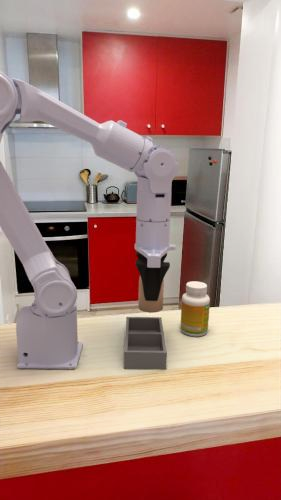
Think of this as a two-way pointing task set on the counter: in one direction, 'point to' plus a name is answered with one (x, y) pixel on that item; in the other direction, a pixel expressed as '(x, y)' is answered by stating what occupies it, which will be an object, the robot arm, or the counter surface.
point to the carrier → (144, 343)
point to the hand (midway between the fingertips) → (150, 294)
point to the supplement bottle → (195, 309)
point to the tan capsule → (150, 305)
